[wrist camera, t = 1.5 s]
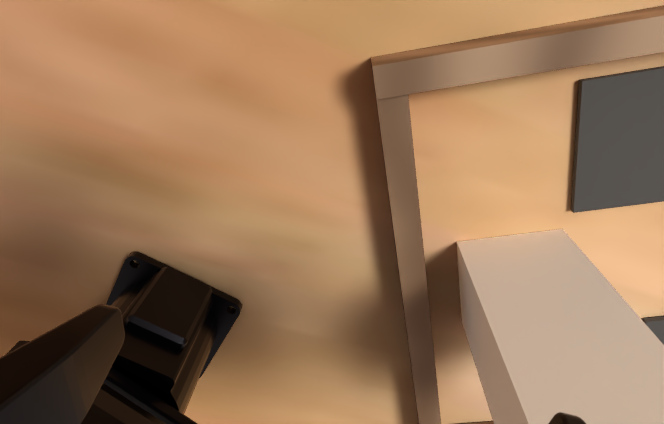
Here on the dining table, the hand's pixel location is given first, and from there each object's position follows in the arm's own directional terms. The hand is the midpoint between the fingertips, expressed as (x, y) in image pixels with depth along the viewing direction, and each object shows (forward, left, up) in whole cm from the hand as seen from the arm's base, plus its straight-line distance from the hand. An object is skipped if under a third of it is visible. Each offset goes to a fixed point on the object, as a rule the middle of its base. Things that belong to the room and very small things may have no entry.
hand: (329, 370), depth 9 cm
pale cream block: (-1, -10, -13) cm, 16 cm away
